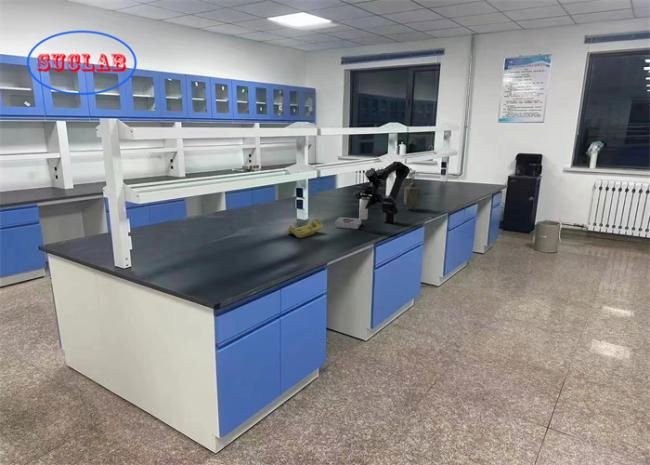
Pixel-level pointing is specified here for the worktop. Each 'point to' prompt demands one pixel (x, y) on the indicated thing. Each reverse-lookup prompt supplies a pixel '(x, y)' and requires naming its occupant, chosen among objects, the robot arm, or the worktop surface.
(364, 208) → the plug
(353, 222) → the socket box
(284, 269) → the worktop surface
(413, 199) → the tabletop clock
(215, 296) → the worktop surface
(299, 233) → the plastic component
